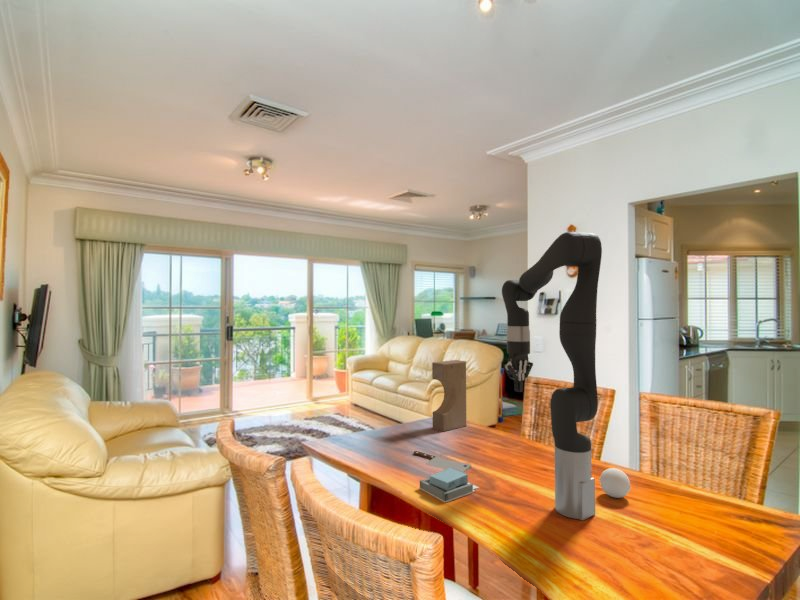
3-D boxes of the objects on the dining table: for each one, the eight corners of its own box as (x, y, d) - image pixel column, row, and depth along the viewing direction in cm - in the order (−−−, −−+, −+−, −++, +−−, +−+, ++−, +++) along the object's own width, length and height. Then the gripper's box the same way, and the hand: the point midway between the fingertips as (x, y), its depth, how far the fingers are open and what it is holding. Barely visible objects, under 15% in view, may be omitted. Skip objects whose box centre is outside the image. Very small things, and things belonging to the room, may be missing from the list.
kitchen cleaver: (402, 457, 157) (419, 448, 164) (402, 460, 157) (419, 451, 164) (457, 475, 141) (474, 464, 148) (458, 478, 141) (474, 467, 148)
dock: (482, 489, 130) (482, 481, 130) (445, 503, 121) (445, 494, 121) (456, 477, 139) (456, 469, 139) (419, 489, 130) (419, 480, 130)
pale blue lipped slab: (469, 488, 130) (468, 473, 130) (447, 498, 123) (447, 482, 123) (451, 481, 135) (451, 467, 135) (429, 490, 128) (429, 475, 128)
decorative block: (455, 422, 205) (454, 359, 205) (466, 426, 199) (466, 361, 199) (432, 428, 195) (431, 362, 196) (443, 432, 189) (443, 364, 190)
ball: (594, 491, 128) (594, 464, 128) (619, 490, 129) (619, 463, 129) (609, 503, 120) (609, 474, 120) (636, 502, 121) (636, 473, 121)
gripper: (514, 341, 137) (514, 395, 136) (540, 339, 144) (540, 391, 144) (496, 339, 143) (496, 392, 142) (521, 338, 150) (522, 387, 150)
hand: (518, 391), depth 143 cm, fingers closed
